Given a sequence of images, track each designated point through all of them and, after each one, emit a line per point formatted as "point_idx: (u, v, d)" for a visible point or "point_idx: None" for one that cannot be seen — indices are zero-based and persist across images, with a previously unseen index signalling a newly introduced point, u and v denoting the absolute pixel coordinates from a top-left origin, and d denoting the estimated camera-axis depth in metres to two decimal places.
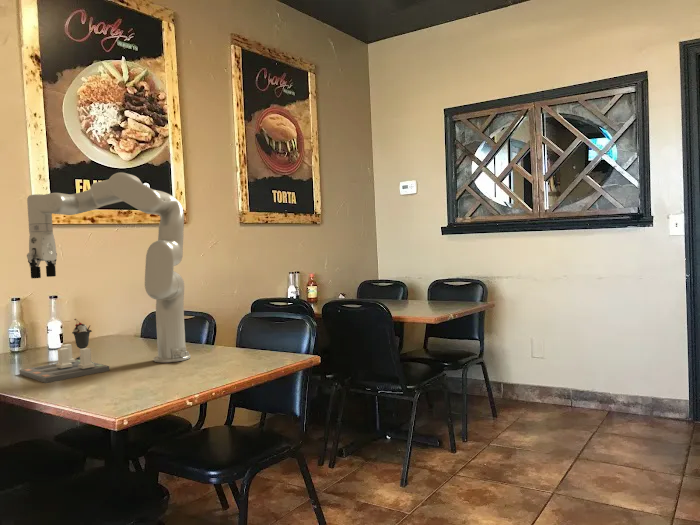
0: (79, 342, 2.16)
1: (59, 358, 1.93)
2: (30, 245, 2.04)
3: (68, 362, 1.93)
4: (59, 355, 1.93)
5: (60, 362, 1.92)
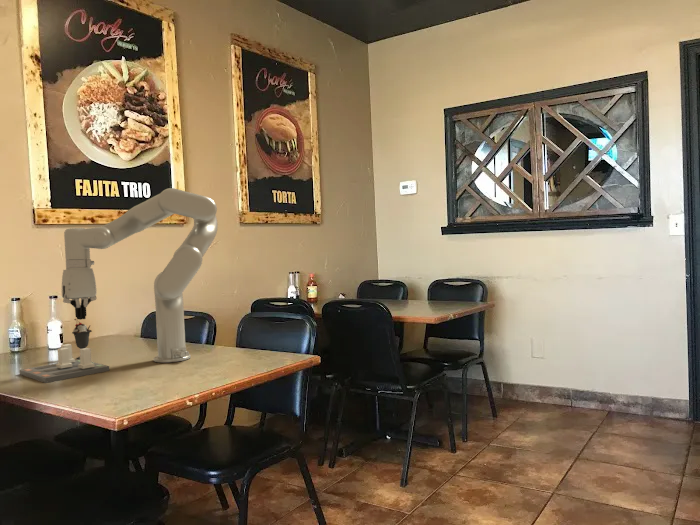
0: (79, 342, 2.16)
1: (59, 358, 1.93)
2: None
3: (68, 362, 1.93)
4: (59, 355, 1.93)
5: (60, 362, 1.92)
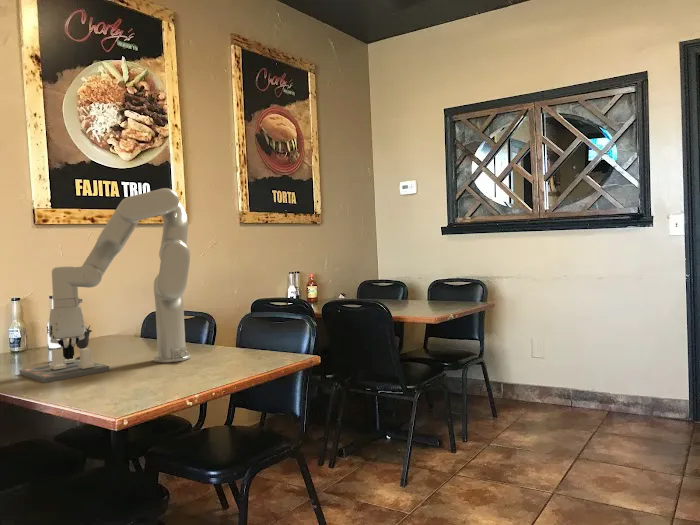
0: (79, 342, 2.16)
1: (53, 360, 1.91)
2: None
3: (62, 363, 1.91)
4: (53, 356, 1.91)
5: (54, 363, 1.91)
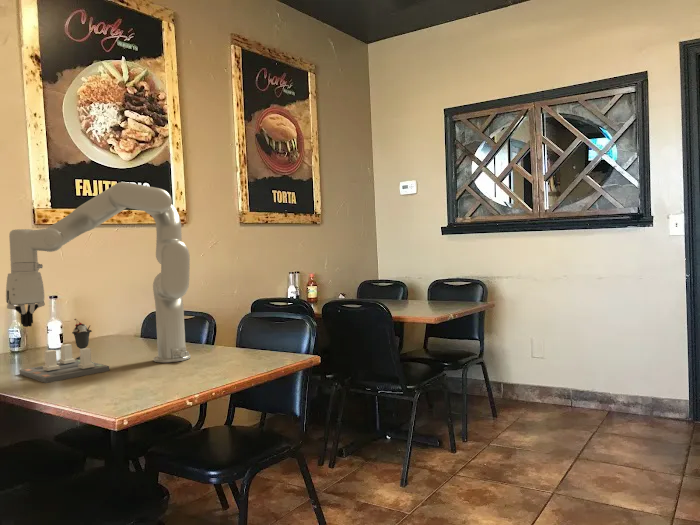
0: (79, 342, 2.16)
1: (46, 361, 1.90)
2: None
3: (55, 364, 1.90)
4: (46, 357, 1.90)
5: (47, 364, 1.89)
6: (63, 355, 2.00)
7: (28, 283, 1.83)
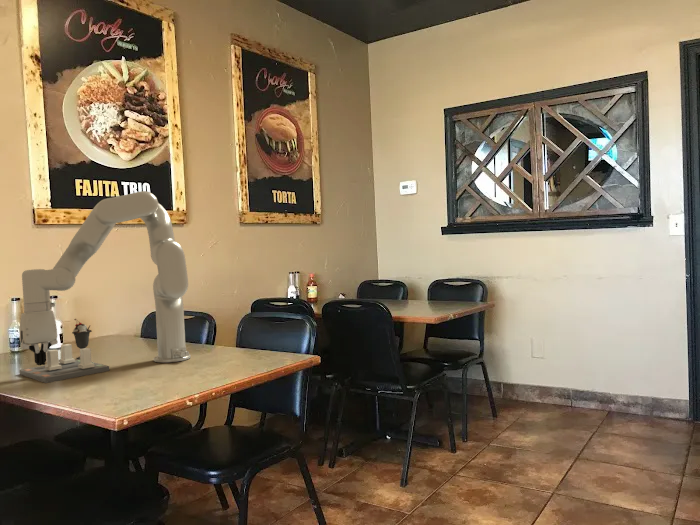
0: (79, 342, 2.16)
1: (48, 360, 1.90)
2: (55, 323, 1.90)
3: (57, 364, 1.90)
4: (48, 357, 1.90)
5: (49, 364, 1.90)
6: (63, 355, 2.00)
7: (41, 322, 1.86)
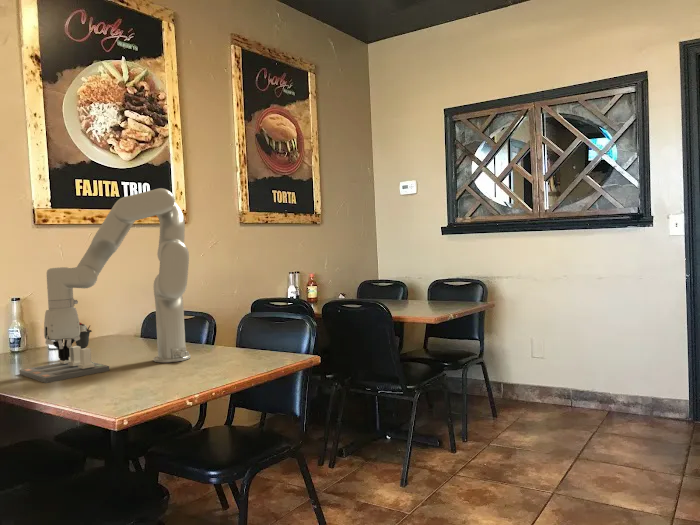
0: (79, 342, 2.16)
1: (71, 356, 1.96)
2: None
3: None
4: (71, 353, 1.95)
5: (72, 360, 1.95)
6: None
7: (65, 319, 1.91)
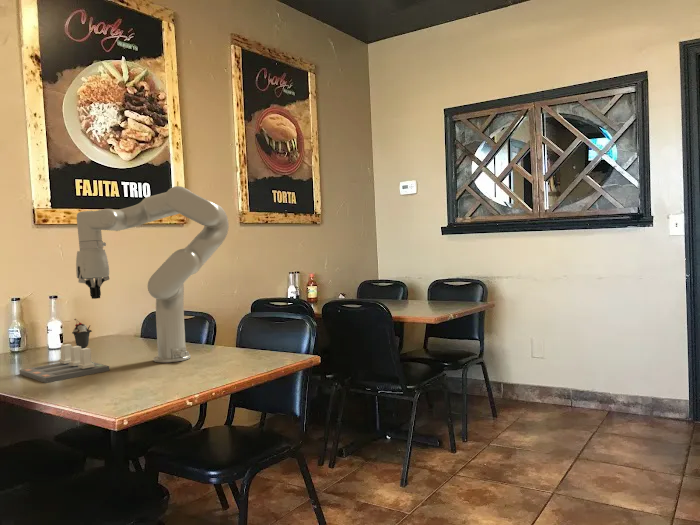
0: (79, 342, 2.16)
1: (71, 356, 1.96)
2: None
3: None
4: (72, 353, 1.96)
5: (73, 360, 1.95)
6: (63, 355, 2.00)
7: (96, 259, 2.04)
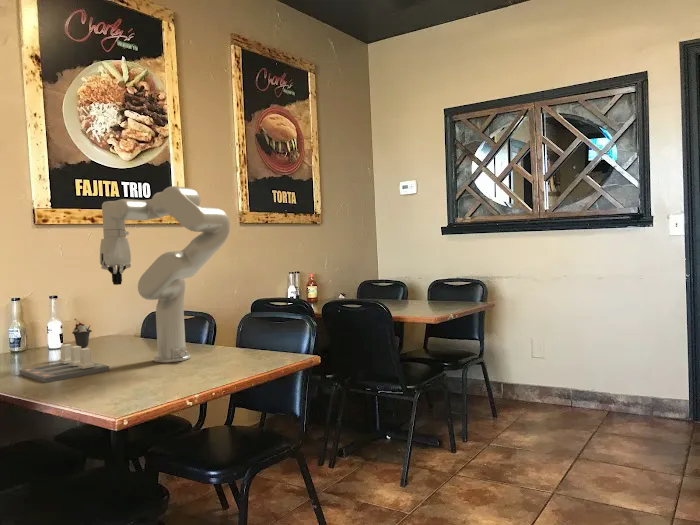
0: (79, 342, 2.16)
1: (71, 356, 1.96)
2: None
3: None
4: (72, 353, 1.96)
5: (73, 360, 1.95)
6: (63, 355, 2.00)
7: (118, 247, 2.14)
